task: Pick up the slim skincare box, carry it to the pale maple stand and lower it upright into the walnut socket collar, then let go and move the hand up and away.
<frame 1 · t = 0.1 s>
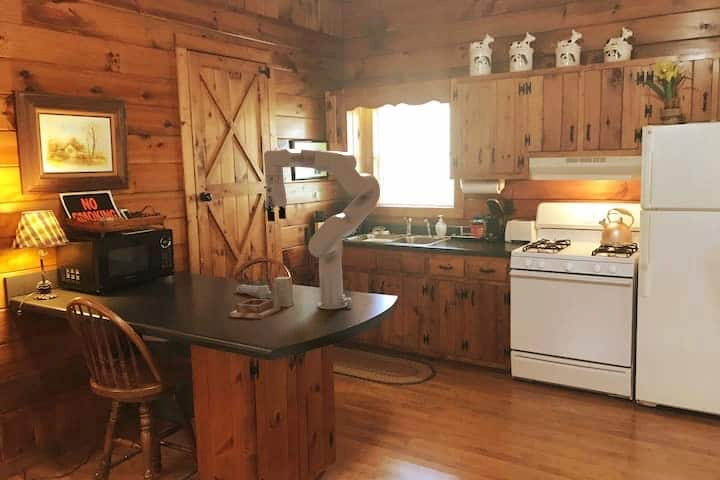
hand: (277, 220, 257), 37 cm above the countertop, tool pointing down, fingers open, 9 cm apart
socket stand: (255, 312, 247), on the countertop
skincare box: (285, 306, 258), on the countertop
white elongated piece: (253, 296, 281), on the countertop
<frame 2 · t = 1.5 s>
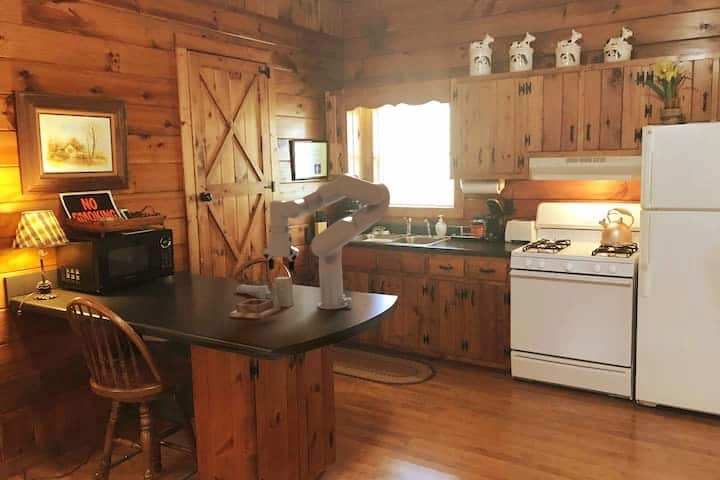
hand: (281, 269, 256), 16 cm above the countertop, tool pointing down, fingers open, 9 cm apart
nothing on the countertop moved.
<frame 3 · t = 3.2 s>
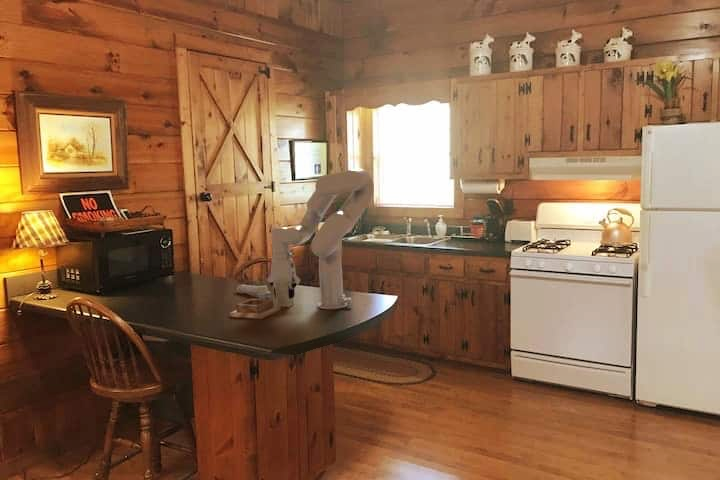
hand: (284, 297, 257), 4 cm above the countertop, tool pointing down, fingers closed on skincare box, 6 cm apart
skincare box: (285, 306, 258), on the countertop, touching gripper
everything else where it was.
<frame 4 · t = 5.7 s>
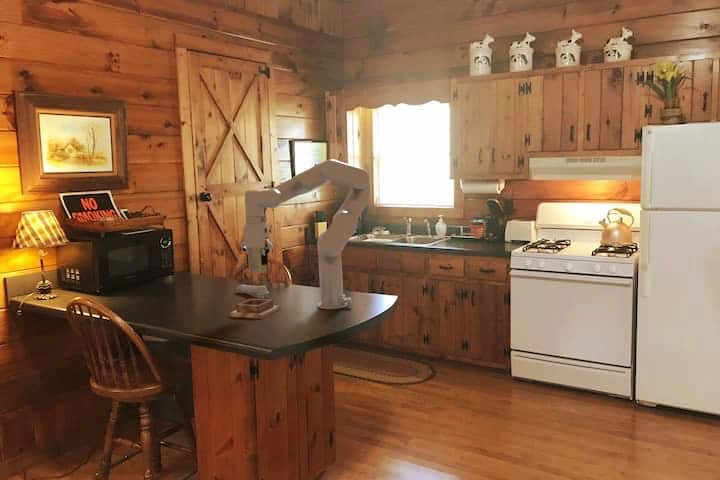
hand: (257, 263, 247), 20 cm above the countertop, tool pointing down, fingers closed on skincare box, 6 cm apart
skincare box: (257, 273, 248), point 16 cm above the countertop, touching gripper
everything else where it was.
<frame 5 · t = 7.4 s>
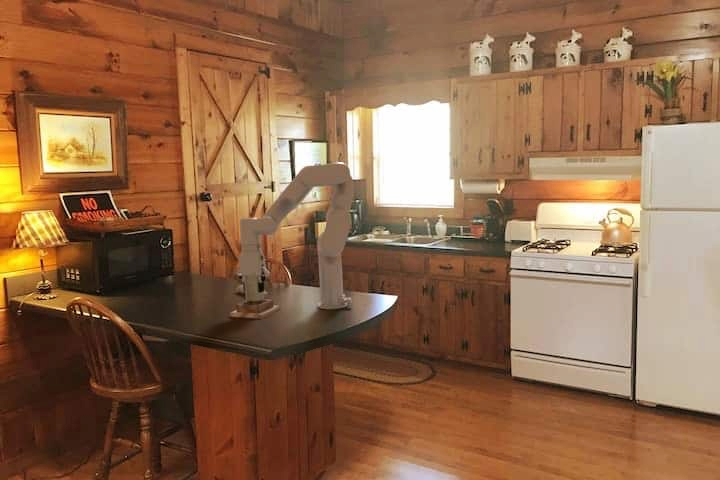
hand: (254, 291, 246), 9 cm above the countertop, tool pointing down, fingers closed on skincare box, 6 cm apart
skincare box: (254, 300, 247), point 5 cm above the countertop, touching gripper
when the fingers open (6 cm above the countertop, at t = 8.5 s): skincare box stays where it is, resting on socket stand.
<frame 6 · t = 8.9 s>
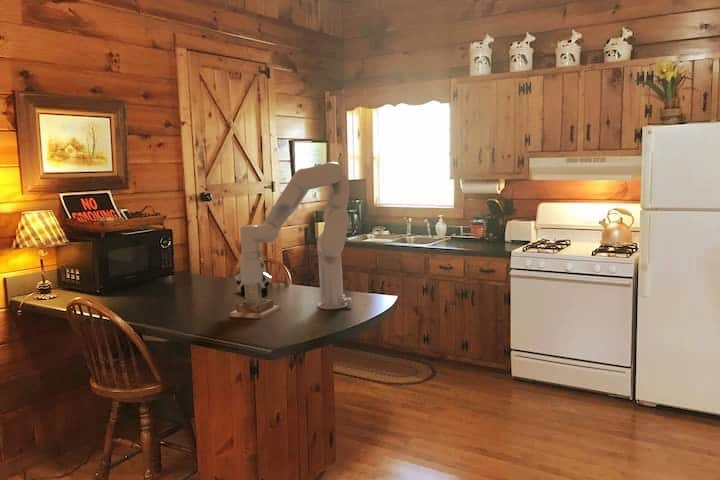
hand: (254, 296, 247), 7 cm above the countertop, tool pointing down, fingers open, 9 cm apart
skincare box: (255, 309, 247), point 1 cm above the countertop, touching socket stand
everything else where it was.
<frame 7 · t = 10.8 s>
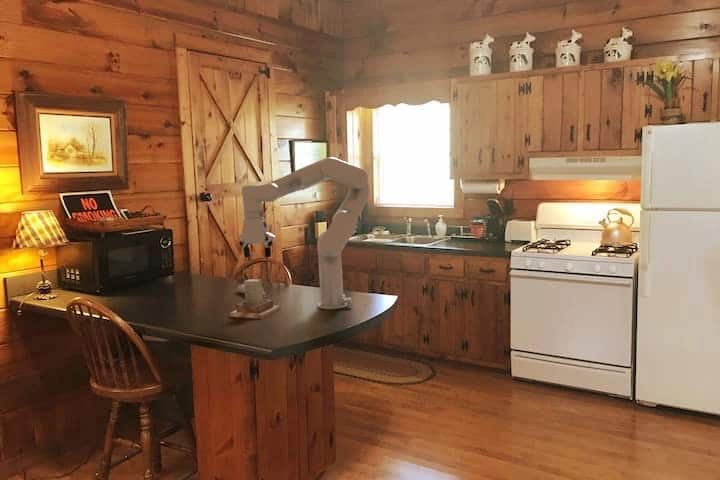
hand: (257, 257, 246), 23 cm above the countertop, tool pointing down, fingers open, 9 cm apart
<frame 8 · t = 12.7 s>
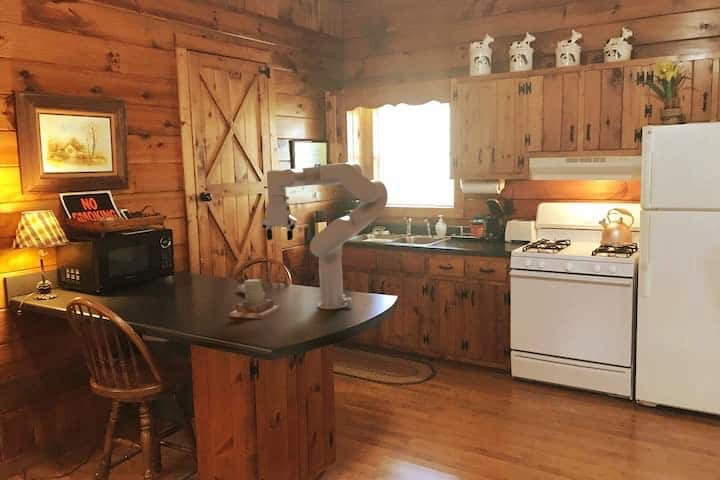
hand: (279, 239, 256), 28 cm above the countertop, tool pointing down, fingers open, 9 cm apart
at the end: skincare box 0.1 cm off-centre on the socket stand, point 1.3 cm above the socket stand's base; skincare box tilted 0°; the gripper is holding nothing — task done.
